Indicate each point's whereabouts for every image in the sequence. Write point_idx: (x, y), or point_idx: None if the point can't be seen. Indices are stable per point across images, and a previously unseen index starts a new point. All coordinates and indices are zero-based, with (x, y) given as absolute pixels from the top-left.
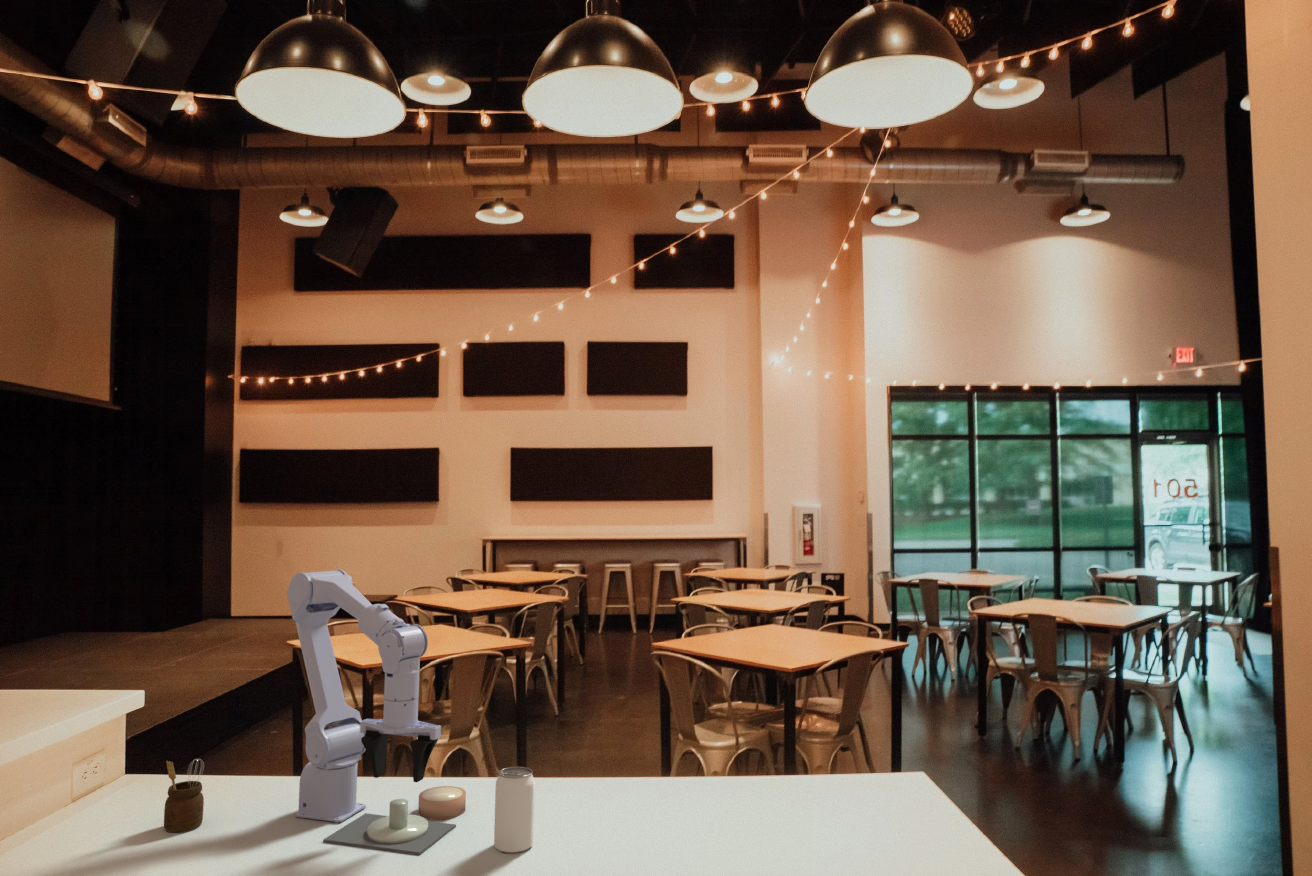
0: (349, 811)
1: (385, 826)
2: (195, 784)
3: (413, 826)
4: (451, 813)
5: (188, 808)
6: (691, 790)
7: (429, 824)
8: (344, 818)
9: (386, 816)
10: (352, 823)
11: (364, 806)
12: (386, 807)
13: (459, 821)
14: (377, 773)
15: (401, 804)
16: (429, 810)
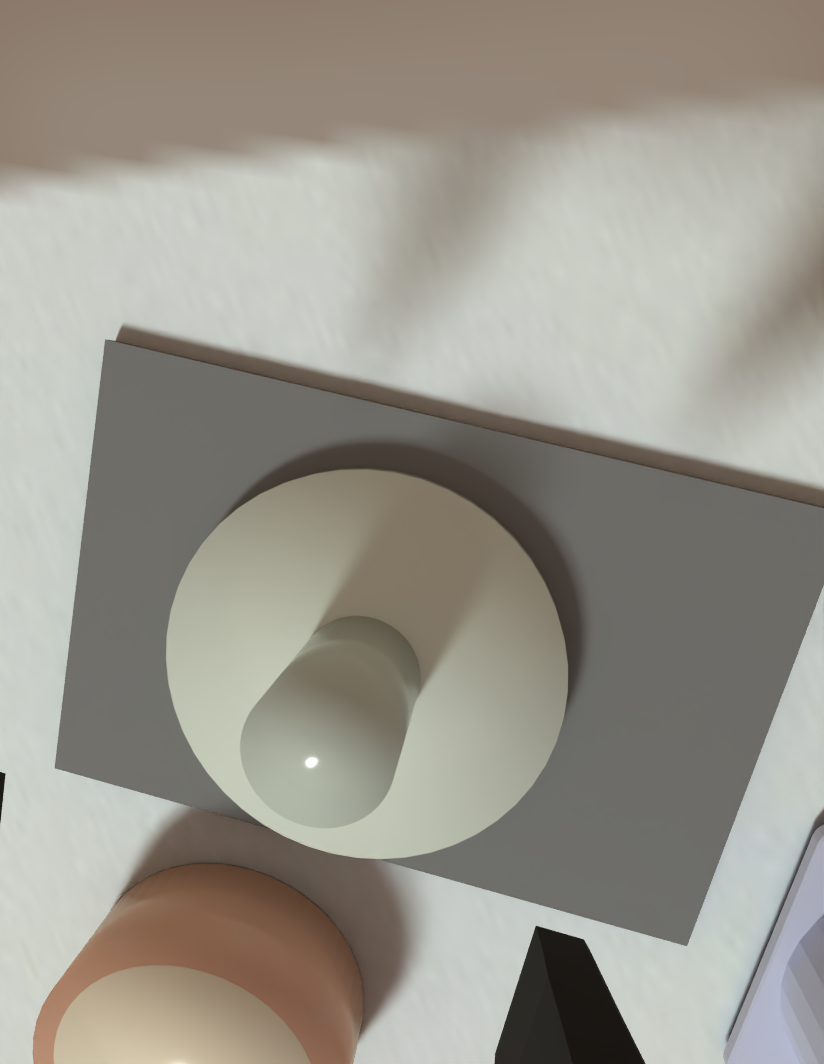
0: (804, 947)
1: (444, 666)
2: None
3: (256, 670)
4: (121, 901)
5: None
6: None
7: None
8: (807, 860)
9: (525, 891)
10: (721, 783)
11: (729, 1046)
12: None
13: (72, 834)
14: (538, 974)
15: (277, 708)
16: (238, 908)
